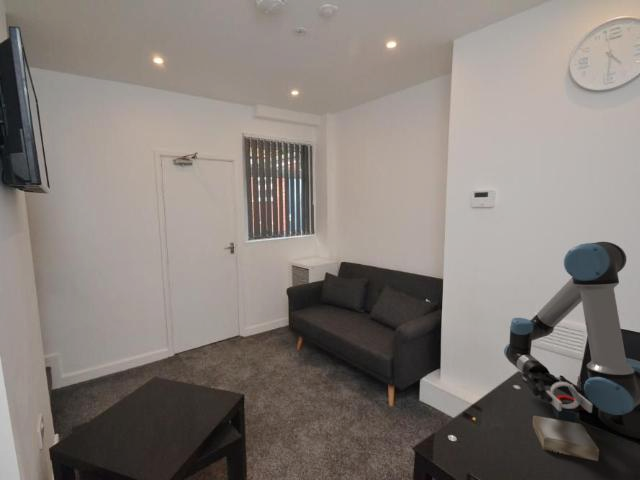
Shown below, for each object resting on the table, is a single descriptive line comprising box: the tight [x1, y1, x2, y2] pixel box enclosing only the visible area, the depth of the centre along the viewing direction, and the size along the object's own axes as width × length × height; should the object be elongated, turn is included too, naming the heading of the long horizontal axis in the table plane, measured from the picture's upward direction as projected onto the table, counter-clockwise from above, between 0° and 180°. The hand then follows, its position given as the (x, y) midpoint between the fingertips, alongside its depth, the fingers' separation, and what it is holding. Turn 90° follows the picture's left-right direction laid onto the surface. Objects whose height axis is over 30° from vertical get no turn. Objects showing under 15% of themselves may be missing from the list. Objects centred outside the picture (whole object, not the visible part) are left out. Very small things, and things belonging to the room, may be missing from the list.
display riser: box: [532, 415, 600, 462], centre depth 104 cm, size 14×12×4 cm
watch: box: [549, 381, 582, 423], centre depth 103 cm, size 6×8×11 cm
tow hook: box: [555, 376, 587, 412], centre depth 124 cm, size 8×13×9 cm
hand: (575, 407), depth 98 cm, fingers closed on watch, 8 cm apart
